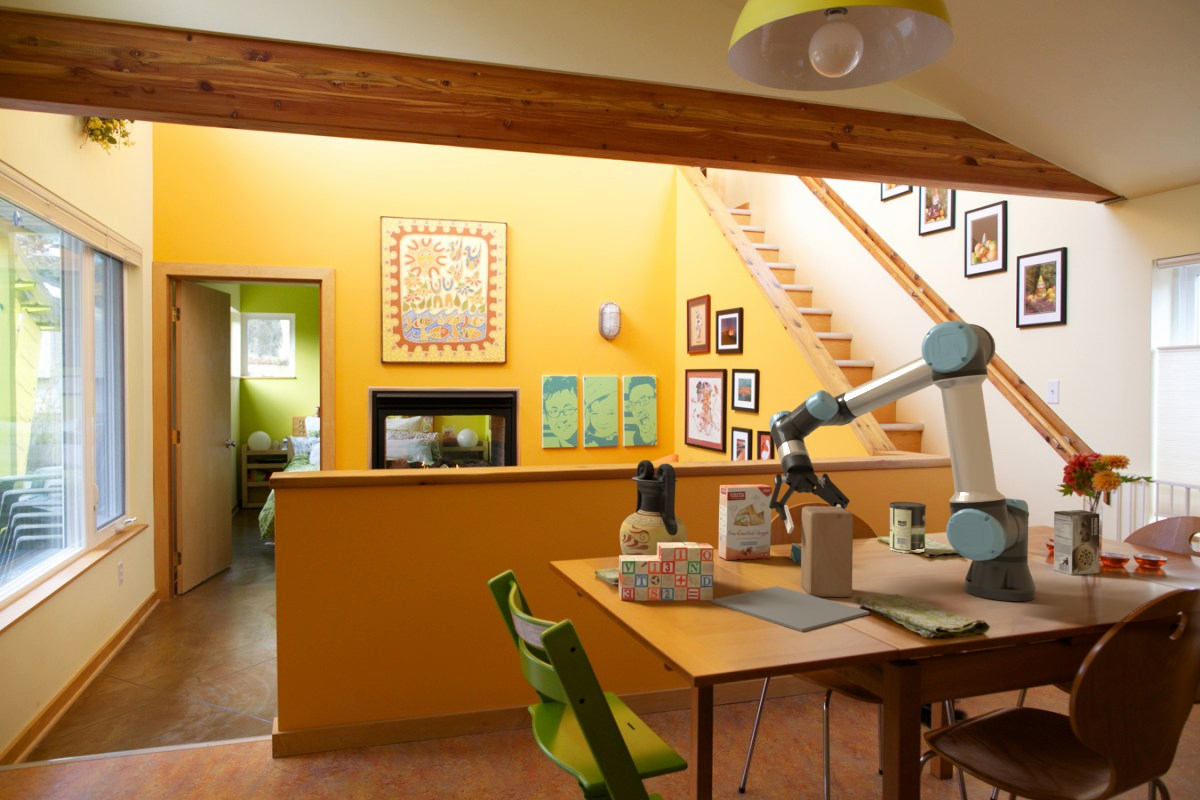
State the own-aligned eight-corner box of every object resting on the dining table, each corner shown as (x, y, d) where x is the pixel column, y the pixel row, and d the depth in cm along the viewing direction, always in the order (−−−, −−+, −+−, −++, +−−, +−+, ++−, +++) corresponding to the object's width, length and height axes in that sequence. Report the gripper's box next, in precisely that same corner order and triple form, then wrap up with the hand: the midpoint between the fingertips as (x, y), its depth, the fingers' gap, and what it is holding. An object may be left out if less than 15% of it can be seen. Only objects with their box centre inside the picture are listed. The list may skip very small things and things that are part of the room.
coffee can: (922, 547, 241) (922, 502, 241) (928, 554, 231) (928, 507, 231) (886, 546, 244) (887, 500, 243) (891, 552, 234) (891, 505, 233)
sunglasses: (782, 556, 228) (785, 539, 228) (832, 562, 229) (834, 546, 229) (798, 567, 214) (801, 549, 214) (850, 574, 215) (853, 556, 215)
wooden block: (853, 598, 182) (854, 512, 182) (809, 597, 182) (810, 512, 182) (840, 587, 192) (841, 506, 192) (799, 586, 192) (800, 505, 192)
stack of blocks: (620, 601, 178) (621, 547, 178) (618, 594, 185) (618, 542, 184) (713, 600, 180) (714, 547, 180) (708, 593, 186) (708, 541, 186)
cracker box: (726, 561, 220) (727, 487, 220) (717, 556, 226) (718, 484, 226) (771, 558, 224) (772, 485, 224) (761, 554, 230) (762, 483, 229)
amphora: (701, 582, 196) (702, 462, 195) (651, 593, 185) (652, 466, 185) (654, 569, 210) (655, 457, 209) (604, 578, 199) (605, 460, 199)
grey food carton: (1079, 568, 215) (1080, 509, 215) (1100, 573, 209) (1101, 513, 209) (1052, 569, 213) (1053, 510, 213) (1071, 575, 207) (1072, 514, 206)
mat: (869, 614, 169) (869, 611, 169) (801, 631, 156) (801, 628, 156) (776, 588, 190) (776, 586, 190) (710, 602, 178) (710, 599, 178)
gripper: (836, 470, 209) (861, 537, 194) (746, 471, 206) (764, 539, 191) (845, 452, 204) (872, 520, 189) (752, 452, 200) (772, 521, 186)
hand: (818, 530), depth 190 cm, fingers open, 13 cm apart
